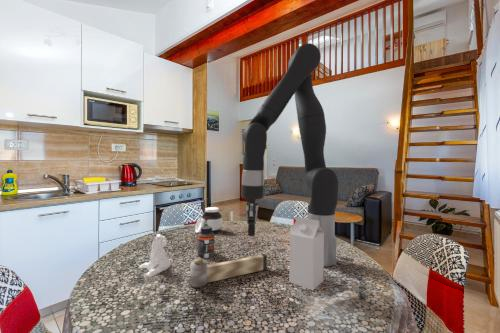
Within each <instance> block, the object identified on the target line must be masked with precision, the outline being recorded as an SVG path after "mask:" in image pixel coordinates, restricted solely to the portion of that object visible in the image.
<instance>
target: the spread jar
mask: <svg viewBox="0 0 500 333" xmlns="http://www.w3.org/2000/svg"><path fill="white" fill-rule="evenodd" d="M204 210H205V211H204V213H203V214H202V216H201V218H198V219H197V220H196V222H195V226H194V228H195V229H194V231H195V233H197V234H199V233H201V227H203V226H211V227H212V232H213V233H214V234H217V233H218V232H220V231H221V230H222V228H223V216H222V214H221V213H220V209H219V207H216V206H212V207H211V206H210V207H209V206H208V207H205V208H204Z"/></svg>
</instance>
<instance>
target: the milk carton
mask: <svg viewBox="0 0 500 333" xmlns="http://www.w3.org/2000/svg"><path fill="white" fill-rule="evenodd" d="M288 276H289V278H288V279H289V283H292V284H295V285H297V286H299V287H303V288H305V289H307V290H310V291H314V290H315V289H316V288H318V286H319V285H321V283H322V282H324V232H323V230H322V228H321V227H320V225H319V221H317V220H311V219H308V218H305V217H298V216H296V217H295V221H294V224H293V226H292V228H291V230H290V231H289V275H288Z"/></svg>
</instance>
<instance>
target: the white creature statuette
mask: <svg viewBox="0 0 500 333" xmlns="http://www.w3.org/2000/svg"><path fill="white" fill-rule="evenodd" d="M167 244H168V240H167V237H166V236H164V235H163V234H159V233H157V234H156V236H155V239H154V240H152V244H151V252H150V253H149V254H150V255H149V257H150V258H149V261H148V262H143V263H142V264H140V265H139V270H142V269H143V270H144V269H146V270H148V272H146V273H145V277H146V278H151V277H155V276H156V275H158V274H160V273H161V272H164V271H167V270H168V268H170V267H171V264H172V263H171V261H170V258H169V257H168V256H167V253H166V250H165V249H164V248H165V247H166V245H167Z"/></svg>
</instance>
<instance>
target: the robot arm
mask: <svg viewBox="0 0 500 333" xmlns="http://www.w3.org/2000/svg"><path fill="white" fill-rule="evenodd" d="M321 56H322V55H321V51H320V49H319V47H318V46H317V45H315V44H313V43H311V42H310V43H304V44H302V45H300V46H299V47H297V48H296V50H295V51H294V52H293V54H292V55H291V56H290V58H289V60H288V65H287V68H288V69H287V70H286V72H285V73H284V75H283V76H282V78H281V79H280V81H279V82H277V84H276V86H275V87H274V88H273V89H272V91H271V92H270V93H269V94H268V95H267V97H266V98H265V100H264V102H263V103H262V104H261V106H260V107H259V109H258V110H257V113H256V114H255V115H254V116H253V117H252V118H251V120H250V122H249V123H247V125H246V126H245V128H244V129H243V130H242V141H244V143H245V148H244V149H245V150H244V151H245V152H244V154H243V159H242V174H241V192H240V193H241V198H242V199H244V200H245V199H246V200H248V202H246V204H245V209H246V218H247V225H248V227H247V231H248V232H247V235H248V237H254V236H255V235H256V224H257V218H258V210H259V203H258V202H257V200H261V199H264V196H265V173H264V172H265V171H264V170H265V153H266V147H267V141H268V140H267V138H268V135H267V134H268V133H267V132H268V131H269V129H270V128H271V126H272V125H274V124H275V123H276V122H277V121H278V119H279V117H280V116H281V114H282V113H283V112H284V110H285V108H286V107H287V106H288V104H289V102H290V101H291V99H292V98H293V96H294V99H295V100H294V102H295V106H296V107H295V108H296V114H297V117H296V118H297V122H298V129H299V134H300V141H301V142H300V143H301V147H302V151H303V157H304V158H303V159H304V176H305V180H304V181H305V184H306V186H307V187H308V189H309V190H310V192H311V193H310V202H309V203H308V205H307V219H311V220H317V221H319V225H320V227H321V228H322V230H323V232H324V267H325V268H326V267H331V266H337V240H338V239H337V236H336V234H335V233H336V230H335V229H336V228H335V227H336V224H335V222H336V208H337V206H338V199H339V196H338V195H339V180H338V175H337V174H336V172H335V171H334V170H333V169H330V168H327V166H326V160H325V154H324V153H325V152H324V151H325V149H324V148H325V144H326V142H325V141H326V135H327V124H326V119H325V118H326V117H325V112H324V108H323V106H322V104H321V102H320V100H319V99H318V97H317V96H316V94H315V91H314V87H313V86H314V85H313V79H312V73H313V72H314V71H315V70H317V68H318V67H319V65H320V62H321V58H322V57H321Z"/></svg>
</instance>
